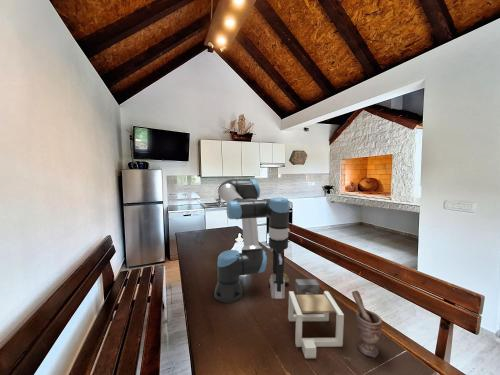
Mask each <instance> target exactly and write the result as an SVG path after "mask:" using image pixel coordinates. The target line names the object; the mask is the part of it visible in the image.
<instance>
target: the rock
mask: <svg viewBox="0 0 500 375" xmlns="http://www.w3.org/2000/svg"><path fill="white" fill-rule="evenodd" d="M284 280H285V284H286V283H289V282H290V278H289V277H288V274H286V273H285V272H284ZM268 284H269V287H271V277H270V278H269V279H268Z"/></svg>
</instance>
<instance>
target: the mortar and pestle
mask: <svg viewBox="0 0 500 375" xmlns="http://www.w3.org/2000/svg"><path fill="white" fill-rule="evenodd" d="M351 294H352V297H353V299H354V301H355V303H356V305H357V307H358V309H359V310H357V311H356V313H355V317H356V318H355V320H356V321H355V327H356V331H357V334H358V336H359V339H358V340H357V342H356V348H357V349H358V351H359V352H360V353H361V354H363V355H365V356H368V357H371V358H374V359H375V358H376V357H377V356H378V355H379V352H380V351H379V348H378V346H377V344H376V343H378V341H380V338H381V335H382V327H383V320H382V318H381V316H379V314H377V313H375V312H374V311H371V310H367V309H366V308H365V305H364V303H363V299H362V296H361V294H360V292H359V291H358V290H353V291H352V292H351Z"/></svg>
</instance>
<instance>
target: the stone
mask: <svg viewBox="0 0 500 375" xmlns="http://www.w3.org/2000/svg"><path fill="white" fill-rule="evenodd" d="M270 278H271V286H270V296H271V299H275V283H274V281H276V275H273V274H270ZM283 282H284V283H283V284H282V299H285V298H286V297H285V296H286V294H285V293H286V292H285V291H286V283H285V280H284V277H283Z"/></svg>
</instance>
